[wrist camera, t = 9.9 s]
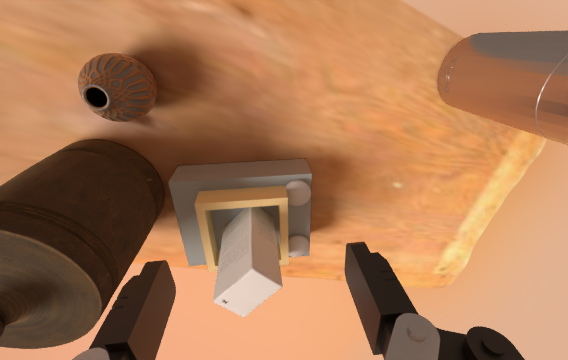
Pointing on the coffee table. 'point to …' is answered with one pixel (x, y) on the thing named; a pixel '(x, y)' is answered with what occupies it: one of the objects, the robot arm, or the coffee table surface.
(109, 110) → the vase
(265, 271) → the skincare box
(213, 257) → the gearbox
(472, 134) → the coffee table surface
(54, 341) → the wooden container
